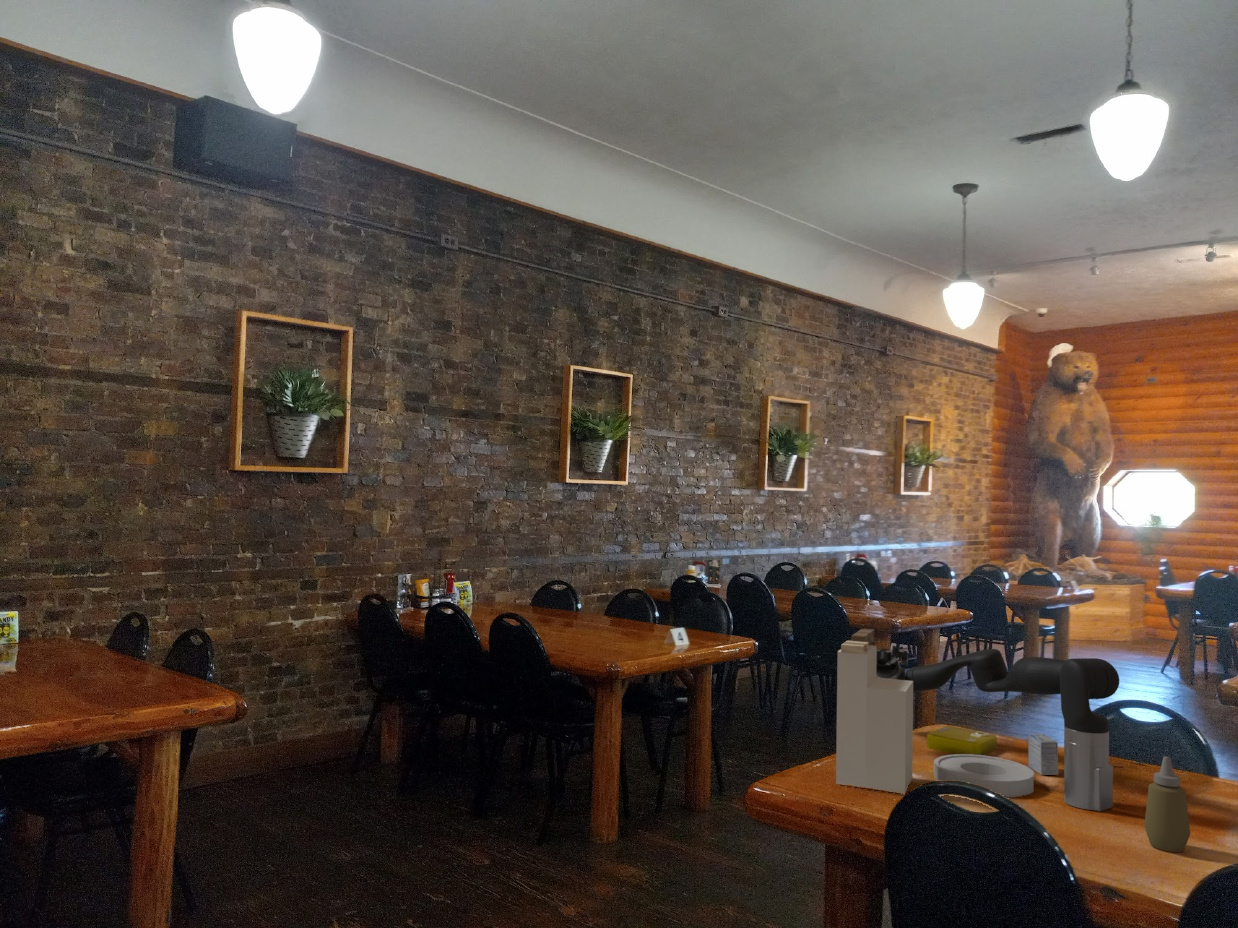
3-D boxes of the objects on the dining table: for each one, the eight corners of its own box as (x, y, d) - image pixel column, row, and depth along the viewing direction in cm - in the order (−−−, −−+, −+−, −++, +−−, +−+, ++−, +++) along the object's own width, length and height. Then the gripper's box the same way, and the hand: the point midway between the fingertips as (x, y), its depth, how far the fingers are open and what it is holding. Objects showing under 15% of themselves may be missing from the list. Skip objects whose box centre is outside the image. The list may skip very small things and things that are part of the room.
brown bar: (858, 639, 244) (858, 628, 244) (878, 641, 242) (878, 629, 242) (841, 652, 222) (841, 639, 222) (862, 653, 220) (863, 641, 220)
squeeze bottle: (1174, 840, 189) (1173, 751, 190) (1200, 855, 181) (1199, 762, 182) (1135, 839, 189) (1135, 751, 190) (1159, 854, 181) (1159, 762, 181)
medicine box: (1058, 776, 233) (1058, 741, 234) (1040, 775, 233) (1040, 741, 234) (1044, 767, 241) (1044, 734, 241) (1027, 766, 241) (1027, 733, 242)
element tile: (947, 739, 269) (947, 723, 270) (998, 750, 259) (998, 733, 259) (924, 748, 258) (924, 731, 259) (977, 760, 248) (977, 742, 248)
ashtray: (983, 766, 242) (983, 750, 242) (1056, 792, 221) (1056, 775, 221) (913, 774, 233) (913, 758, 233) (982, 802, 212) (982, 785, 212)
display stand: (847, 768, 235) (848, 643, 237) (912, 777, 229) (913, 648, 230) (836, 784, 222) (837, 651, 223) (904, 794, 215) (906, 657, 216)
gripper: (910, 681, 259) (903, 663, 246) (859, 675, 265) (849, 657, 252) (912, 655, 262) (905, 636, 249) (861, 650, 268) (852, 631, 255)
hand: (877, 647), depth 250 cm, fingers open, 8 cm apart
